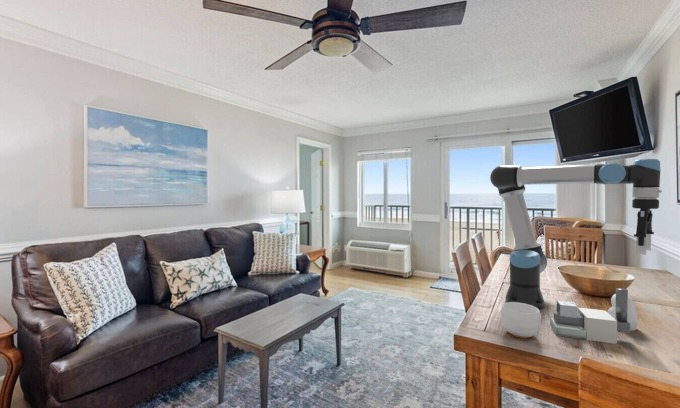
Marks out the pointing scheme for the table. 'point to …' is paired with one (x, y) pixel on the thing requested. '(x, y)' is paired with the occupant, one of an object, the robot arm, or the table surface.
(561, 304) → the block
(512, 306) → the white faceted bowl
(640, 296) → the table surface
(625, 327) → the grey l-shaped bracket
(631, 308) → the figurine
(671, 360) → the table surface
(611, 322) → the housing
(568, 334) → the tray
